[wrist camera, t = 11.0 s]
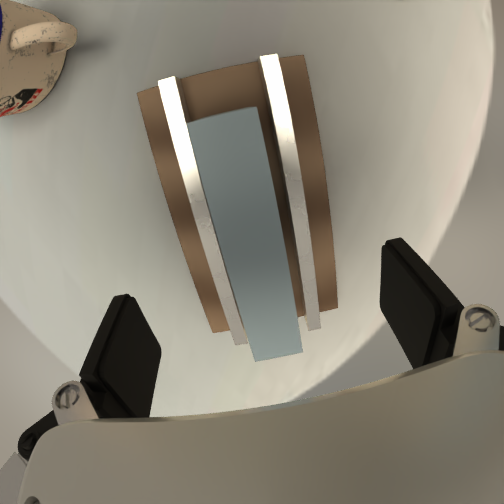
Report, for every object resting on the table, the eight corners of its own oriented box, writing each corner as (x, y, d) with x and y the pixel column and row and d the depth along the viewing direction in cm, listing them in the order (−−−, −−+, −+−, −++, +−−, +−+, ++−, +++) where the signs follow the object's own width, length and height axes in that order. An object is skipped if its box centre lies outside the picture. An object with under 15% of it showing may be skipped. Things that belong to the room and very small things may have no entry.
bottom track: (140, 93, 18) (126, 92, 15) (301, 56, 17) (310, 50, 15) (213, 327, 27) (211, 349, 24) (335, 302, 26) (344, 322, 24)
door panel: (203, 117, 18) (186, 123, 12) (249, 106, 18) (256, 107, 12) (250, 297, 24) (255, 361, 18) (287, 289, 24) (302, 352, 18)
